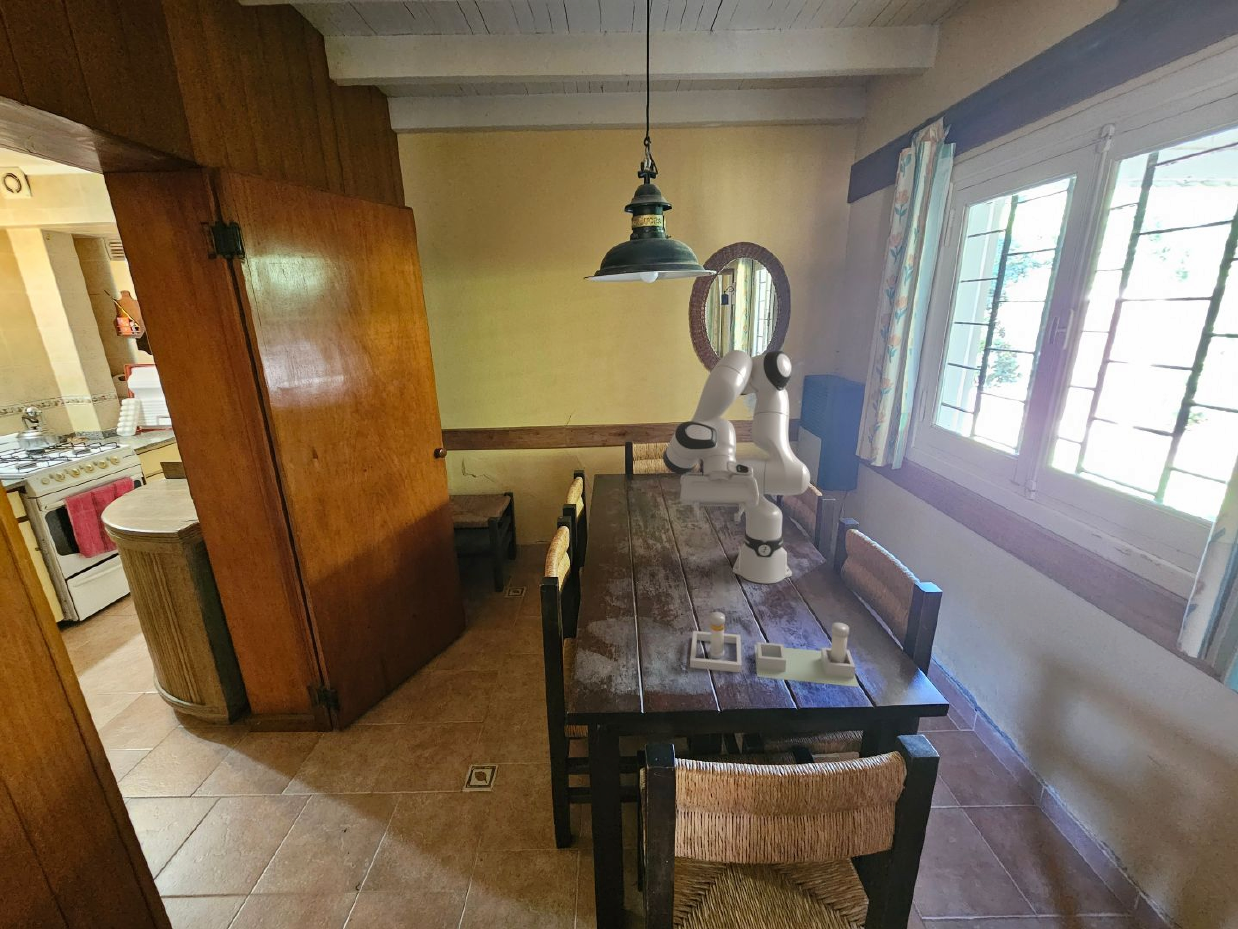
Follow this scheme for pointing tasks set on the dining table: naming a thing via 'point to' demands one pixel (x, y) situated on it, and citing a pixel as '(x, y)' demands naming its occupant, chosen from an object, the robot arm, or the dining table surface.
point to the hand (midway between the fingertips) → (718, 520)
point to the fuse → (839, 642)
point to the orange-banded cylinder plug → (717, 635)
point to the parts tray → (716, 663)
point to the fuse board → (803, 665)
